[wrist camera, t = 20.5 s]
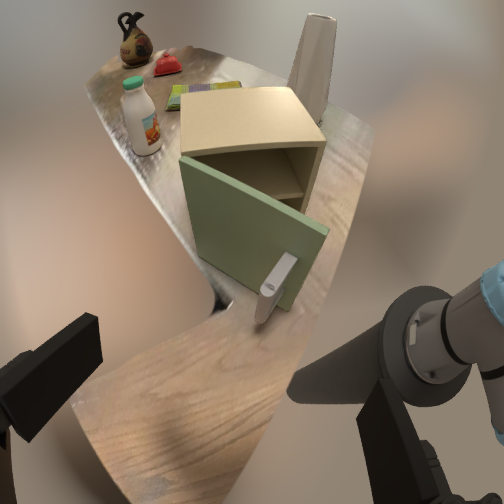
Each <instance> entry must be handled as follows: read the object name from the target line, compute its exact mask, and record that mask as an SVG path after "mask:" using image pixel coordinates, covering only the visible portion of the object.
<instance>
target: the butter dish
mask: <svg viewBox="0 0 504 504" xmlns="http://www.w3.org/2000/svg"><path fill="white" fill-rule="evenodd" d="M163 56H164V57H163V58H160V59H158V61H157V66H156V68H155V69H154V75H155V76H157V75H164V74H169V73H175V72H177V71H181V70H182V66H181V63H178V61H177V58H176V57H175V56H169V54H164V55H163Z"/></svg>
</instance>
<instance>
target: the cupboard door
mask: <svg viewBox="0 0 504 504" xmlns="http://www.w3.org/2000/svg"><path fill="white" fill-rule="evenodd" d="M179 165H180V171H181V176H182V181H183V186H184V191H185V196H186V201H187V206H188V211H189V215H190V220H191V224H192V229H193V234H194V238H195V242H196V247H197V251H198V255H199V256H200V257H201V258H203V259H204V260H206V261H207V262H209V263H211V264H212V265H214V266H215V267H217V268H218V269H220V270H221V271H223V272H225V273H226V274H228V275H229V276H231V277H232V278H234V279H236V280H237V281H239V282H240V283H242V284H244V285H245V286H247V287H248V288H250V289H252V290H253V291H255V292H256V293H258V294H259V297H258V302H257V308H256V313H255V321H256V322H257V323H260V324H261V323H264V322H265V321H266V320H267V318H268V317H269V315H270V314H271V312H272V311H273V309H274V308H275V306H276V305H277V306H279V307H281V308H282V309H284V310H286V311H287V312H288V311H289V309H290V308H291V306H292V304H293V302H294V300H295V298H296V296H297V295H298V293H299V291H300V289H301V287H302V285H303V283H304V281H305V279H306V277H307V275H308V273H309V271H310V269H311V267H312V265H313V263H314V261H315V259H316V257H317V255H318V253H319V251H320V249H321V247H322V245H323V243H324V241H325V239H326V237H327V235H328V233H329V230H330V229H329V228H327V227H326V226H324V225H322V224H320V223H318V222H317V221H315V220H313V219H311V218H309V217H307V216H306V215H304V214H302V213H300V212H298V211H296V210H295V209H293V208H291V207H289V206H287V205H285V204H283V203H281V202H279V201H278V200H276V199H274V198H272V197H270V196H268V195H266V194H264V193H262V192H260V191H258V190H256V189H254V188H252V187H250V186H248V185H246V184H244V183H242V182H240V181H238V180H236V179H234V178H232V177H230V176H228V175H226V174H224V173H222V172H219V171H217V170H215V169H213V168H211V167H209V166H207V165H205V164H202V163H200V162H198V161H196V160H194V159H192V158H189V157H187V156H185V155H184V156H182V157H181V158H180V159H179Z"/></svg>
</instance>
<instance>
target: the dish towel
mask: <svg viewBox="0 0 504 504" xmlns="http://www.w3.org/2000/svg"><path fill="white" fill-rule="evenodd" d="M233 88H242V86H241V82H240V81H232V82H223V83H214V84H193V85H173V86H172V92H171V95H170V98H169V100H168V103H167V106H166V109H165V111H170V110H179V109H180V104H181V94H185V93H192V92H200V91H209V90H220V89H233Z"/></svg>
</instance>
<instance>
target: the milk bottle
mask: <svg viewBox="0 0 504 504" xmlns="http://www.w3.org/2000/svg"><path fill="white" fill-rule="evenodd" d="M143 86H144V84H143V78H142V76H134V77H130V78H128V79H126V80H125V81H124V82H123V88H124V91H125V92H126V99H125V104H124V109H123V113H124V119H125V123H126V127H127V131H128V134H129V138H130V141H131V144H132V148H133V151H134V152H135V153H136V154H137V155H140V156H145V155H150V154H152V153H154V152H156V151H157V150H158V149H159V148H160V147H161V144H162V140H161V135H160V130H159V125H158V120H157V115H156V110H155V106H154V103H153V101H152V100H151V98H150V97H149V96H148V94H147V93H146V92H145V90H144V88H143Z"/></svg>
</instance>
